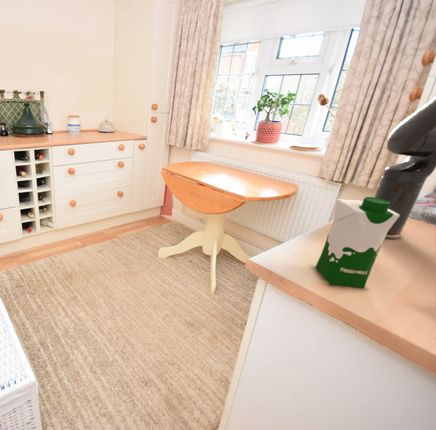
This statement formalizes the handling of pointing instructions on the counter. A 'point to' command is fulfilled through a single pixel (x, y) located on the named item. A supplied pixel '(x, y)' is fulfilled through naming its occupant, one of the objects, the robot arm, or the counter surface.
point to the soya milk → (355, 241)
